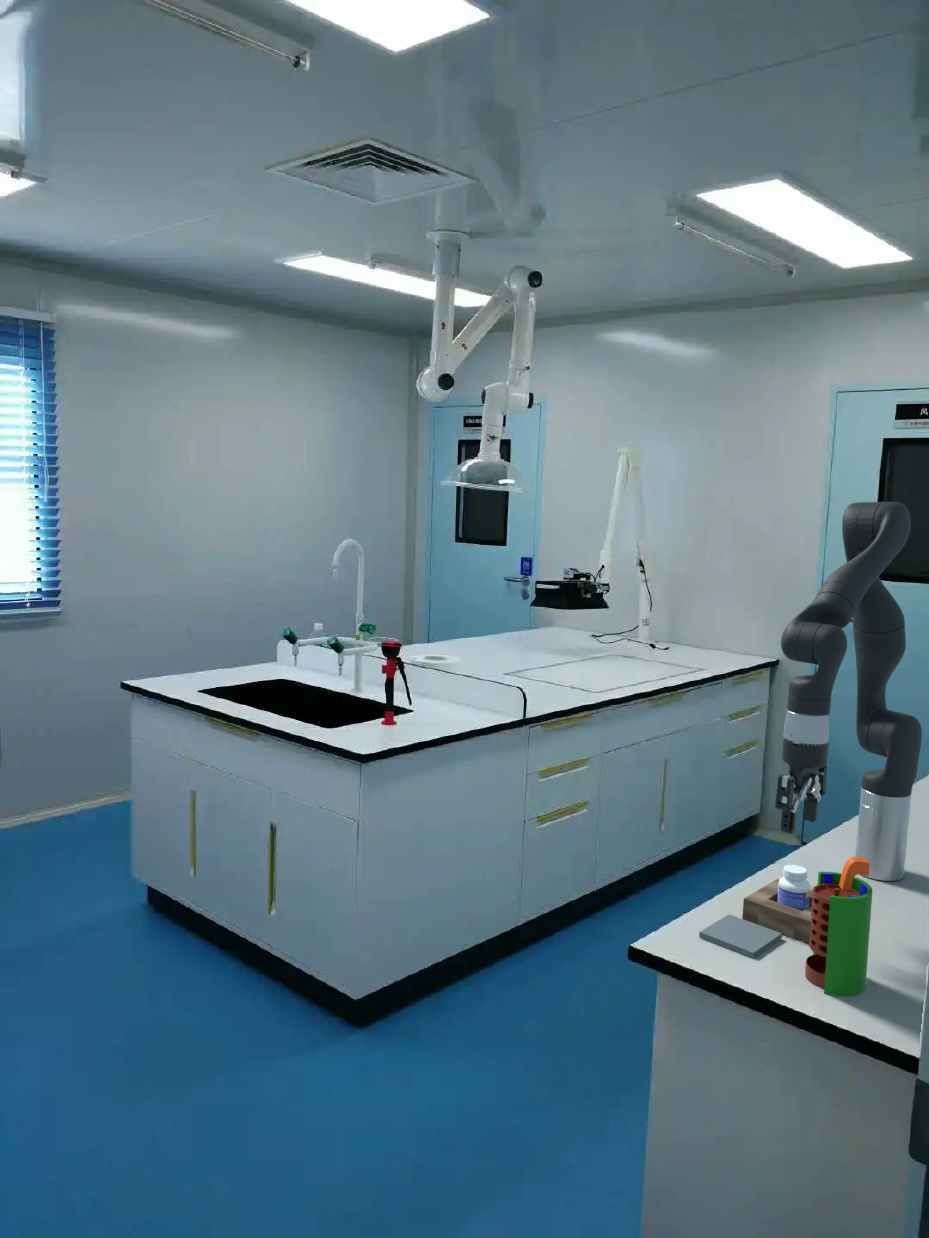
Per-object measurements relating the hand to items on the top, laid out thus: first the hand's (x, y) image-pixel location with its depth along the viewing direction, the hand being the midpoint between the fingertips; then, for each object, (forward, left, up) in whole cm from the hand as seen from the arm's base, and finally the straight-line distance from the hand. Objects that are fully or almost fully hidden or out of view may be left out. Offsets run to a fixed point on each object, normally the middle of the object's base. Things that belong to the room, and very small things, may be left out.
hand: (798, 826), depth 169 cm
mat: (+13, -3, -18) cm, 22 cm away
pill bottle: (0, 0, -18) cm, 18 cm away
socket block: (0, 0, -18) cm, 18 cm away
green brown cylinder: (+14, +14, -18) cm, 27 cm away
